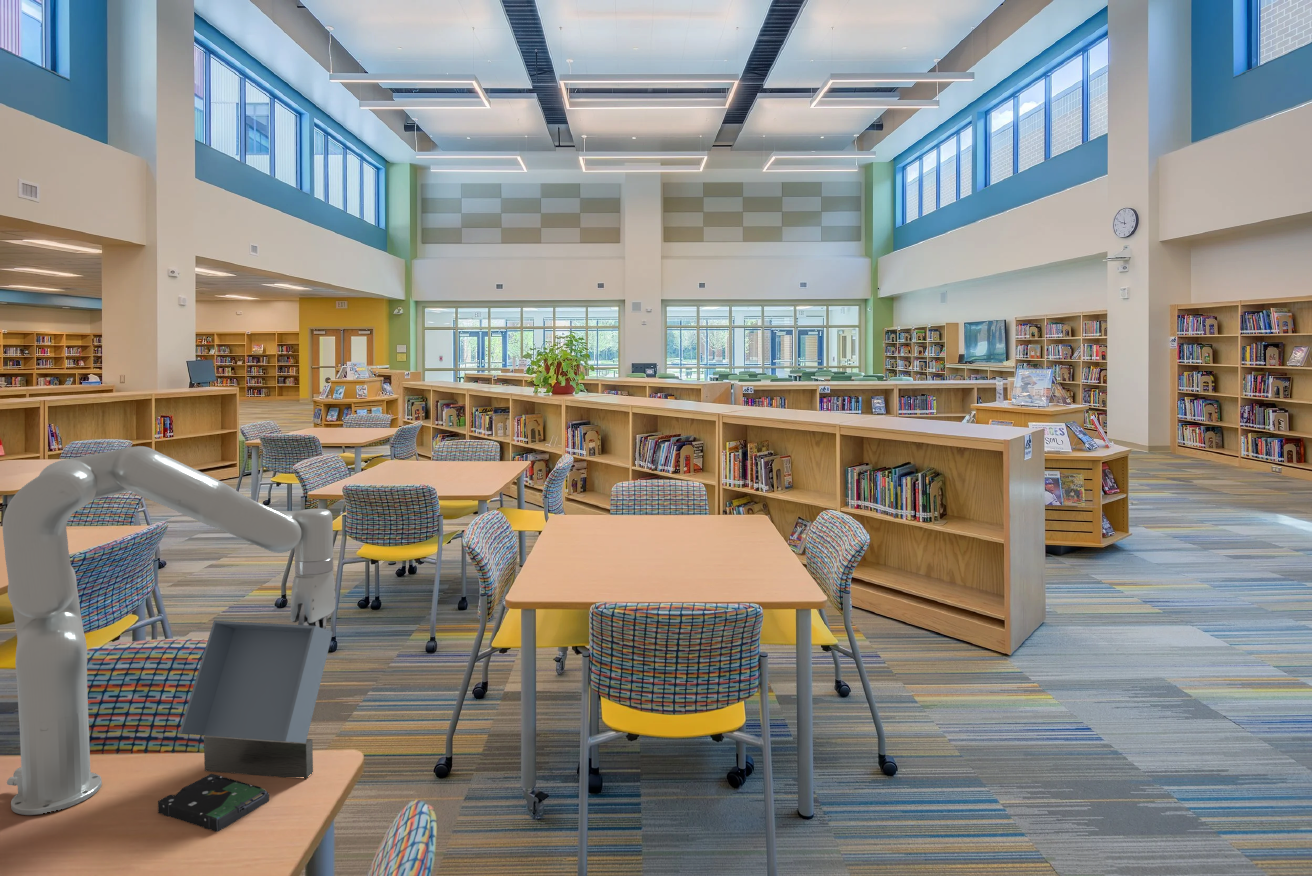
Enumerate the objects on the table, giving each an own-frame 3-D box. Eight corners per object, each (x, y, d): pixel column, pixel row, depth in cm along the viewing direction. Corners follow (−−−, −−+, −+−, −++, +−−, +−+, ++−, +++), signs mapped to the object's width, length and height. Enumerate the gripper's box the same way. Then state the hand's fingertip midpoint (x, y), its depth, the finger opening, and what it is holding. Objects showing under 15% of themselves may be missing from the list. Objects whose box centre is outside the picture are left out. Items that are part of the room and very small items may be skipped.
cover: (214, 620, 142) (235, 626, 148) (178, 733, 134) (203, 735, 140) (315, 625, 140) (332, 631, 146) (285, 741, 131) (305, 742, 138)
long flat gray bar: (204, 771, 141) (203, 736, 140) (212, 765, 143) (211, 731, 142) (306, 779, 138) (306, 744, 138) (313, 773, 140) (312, 739, 140)
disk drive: (156, 817, 126) (218, 835, 121) (155, 801, 126) (217, 818, 121) (211, 787, 136) (271, 802, 131) (210, 772, 136) (270, 787, 131)
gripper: (318, 558, 165) (319, 637, 166) (276, 574, 150) (277, 661, 152) (349, 559, 164) (350, 639, 165) (310, 575, 149) (311, 663, 151)
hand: (315, 649), depth 158 cm, fingers closed
